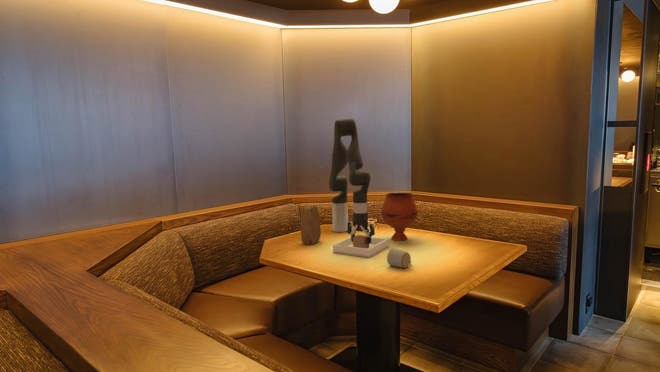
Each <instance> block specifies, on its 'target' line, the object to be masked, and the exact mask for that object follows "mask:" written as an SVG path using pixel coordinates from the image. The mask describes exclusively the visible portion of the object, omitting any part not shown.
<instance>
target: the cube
mask: <svg viewBox="0 0 660 372" xmlns="http://www.w3.org/2000/svg"><path fill="white" fill-rule="evenodd" d="M355 235H356V234H355ZM353 247H358V248H366V249H367V248H369V244H367V235H366V234H357V235H356V236H354V237H353Z"/></svg>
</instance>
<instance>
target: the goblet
mask: <svg viewBox="0 0 660 372" xmlns="http://www.w3.org/2000/svg"><path fill="white" fill-rule="evenodd" d="M381 215H382V216H381V218H382V219H383V220H384V222H385V223H386V224H387V225H388V226H389V227H391V228H393V229H394V233H393V235H392V236H391V240H393V241H407V240H408V239H409V238H408V236H407V235H406V233H405V232H406V229H407V228H409V227H410V226H412V225H413V224H414V222H415V221H416V220H417V219H418V218H417V217H418V207H417V205H416V202H415V199H414V196H413V193H411V192H389V193H386V194H385V198H384V200H383V203H382V207H381Z"/></svg>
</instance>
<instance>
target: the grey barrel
mask: <svg viewBox="0 0 660 372" xmlns="http://www.w3.org/2000/svg"><path fill="white" fill-rule="evenodd" d="M411 257H412V256H411V254H410V253H409V252H408V251H405V250H402V249H398V248H395V247H393V248H391V249H390V250H389V251H388V252H387V257H386V262H387V264H388V265H389V266H392V267H395V268H400V269H406V268H408V267H409V266H410V265H411V264H412V260H411V259H412V258H411Z"/></svg>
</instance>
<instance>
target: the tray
mask: <svg viewBox="0 0 660 372" xmlns="http://www.w3.org/2000/svg"><path fill="white" fill-rule="evenodd" d="M354 235H355V236H356V234H354ZM389 242H390V241H389V238H385V237H376V236H375V237H374V236H371V243H370V244H369V248H367V249H366V248H358V247H353V242H352V241H351V236H349V237H347V238H345V239H343V240H340V241H338V242H336V243H333V244H332V253H333V254H337V255H338V254H340V255H346V256H347V255H348V256H351V257H352V256H353V257H354V256H355V257H359V256H360V258H366V259H369V258H372V257H374V256H375V255H377V254H379V253H380V252H382V251H383V250H386V249H387V248H389V247H390V246H389Z"/></svg>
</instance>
